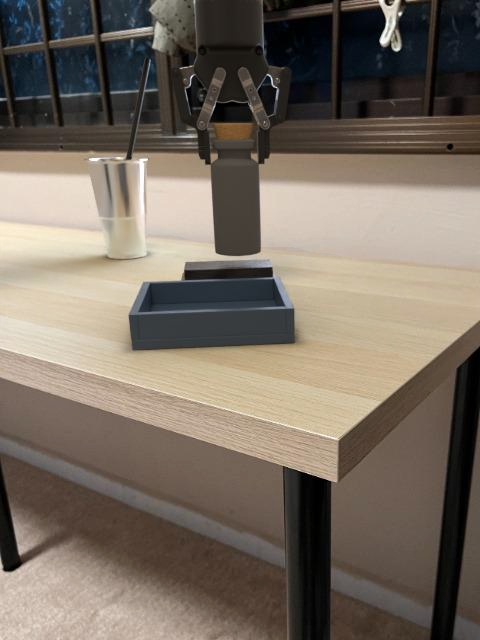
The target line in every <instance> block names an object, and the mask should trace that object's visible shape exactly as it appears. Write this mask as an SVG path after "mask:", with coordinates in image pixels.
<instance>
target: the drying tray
mask: <svg viewBox="0 0 480 640" xmlns="http://www.w3.org/2000/svg"><path fill="white" fill-rule="evenodd" d="M128 324H129V332H130V340H131V341H130V342H131V349H132V350H133V351H143V350H162V349H163V350H164V349H165V350H166V349H183V348H185V349H186V348H188V349H189V348H208V347H228V346H229V347H230V346H233V347H234V346H249V345H251V346H252V345H272V344H273V345H275V344H295V327H296V326H295V306H294V305H293V302H292V300H291V298H290V296H289V294H288V292H287V290H286V287H285V285H284V283H283V281H282V279H281V277H280V276H276V277H271V278H241V279H212V280H182V281H181V280H162V281H161V280H157V281H155V280H154V281H153V280H152V281H143V282H142V284H141V286H140V289H139V291H138V293H137V295H136V298H135V299H134V302H133V304H132V306H131V308H130V311H129V312H128Z"/></svg>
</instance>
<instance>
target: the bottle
mask: <svg viewBox="0 0 480 640" xmlns="http://www.w3.org/2000/svg"><path fill="white" fill-rule="evenodd" d="M212 127H213V131H214V135H215V139H213V140H211V143H212V149H213V150H215V151H216V152H217V158H216V159H214V160H213V161H211V165H210V183H211V184H210V185H211V202H212V204H211V205H212V222H213V240H214V252H215V254H217V255H220V256H226V257H246V256H254V255H257V254H260V253H261V251H262V231H261V230H262V227H261V223H262V221H261V189H260V188H261V187H260V183H261V181H260V164H258V161H257V160H255V159H254V158H252V151H253V150H255V149H256V140H255V139H252V136H253V131H254V130H253V128H254V123H247V122H245V123H243V122H242V123H240V122H237V123H236V122H235V123H234V122H233V123H231V122H230V123H226V122H225V123H213V124H212Z"/></svg>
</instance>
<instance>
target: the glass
mask: <svg viewBox="0 0 480 640" xmlns="http://www.w3.org/2000/svg"><path fill="white" fill-rule="evenodd" d="M150 66H151V58H149V57H145V58H144V62H143V66H142V72H141V76H140V83H139V87H138V93H137V98H136V103H135V107H134V108H135V109H134V115H133V120H132V125H131V129H130V130H131V131H130V135H129V140H128V144H127V145H128V147H127V151H126V156H125V157H95V158H84V159H83V161H84V162H86V164H87V169H88V173H89V177H90V182H91V187H92V191H93V195H94V196H93V197H94V201H95V205H96V209H97V215H98V217H99V221H100V224H101V225H100V226H101V231H102V235H103V240H104V244H105V249H106V252H107V254H106V255H107V257H108V258H110V259H114V260H131V259H139V258H143V257H146V256H147V255H148V252H147V214H148V209H147V207H148V202H147V201H148V198H147V197H148V194H147V193H148V192H147V191H148V187H147V186H148V183H147V182H148V181H147V179H148V177H147V176H148V175H147V174H148V173H147V171H148V169H147V167H148V161H149V160H150V158H149V157H133V154H134V149H135V144H136V138H137V134H138V128H139V123H140V118H141V111H142V108H143V102H144V97H145V92H146V86H147V81H148V76H149V71H150Z"/></svg>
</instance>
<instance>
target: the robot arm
mask: <svg viewBox="0 0 480 640" xmlns="http://www.w3.org/2000/svg"><path fill="white" fill-rule="evenodd" d="M263 1H264V0H193V8H194V9H193V10H194V12H193V13H194V27H195V43H196V57H195V60H194V62H193V65H189V66H188V65H187V66H182V67H178V66H173V67H171V68H170V70H169V72H170V74H169V75H170V78H171V82H172V88H173V91H174V95H175V100H176V104H177V110H178V114H179V118H180V122H181V123H182V124H184V125H186V126H188V127H192V128H194V129H195V130H196V133H197V151H198V157H199V160H201V161H203V160H204V165H205V166H211V164H212V158H211V157H212V156H211V154H212V153H211V139H210V138H211V137H210V131H209V129H208V128H209V127H208V126H209V123H210V120H211V117H212V115H213V112H214V110H215V107H216V104H217V103H219V104H226V103H229V102H234V103H239V104H246V103H248V106H249V109H250V111H251V113H252V115H253V117H254V119H255V121H256V123H257V128H258V130H256V154H257V163H258V164H259V165H265V162H266V161H265V160H269V159H270V155H271V141H270V140H271V139H270V138H271V137H270V136H271V134H270V132H271V130H272V128H274V127H276V126H278V125H281V124H284V123H285V122H286V117H287V109H288V102H289V95H290V89H291V88H290V87H291V83H292V82H291V81H292V69H291V67H288V66H284V67H280V66H279V67H278V66H273V65H269V63H268V61H267V59H266V57H265V50H264V49H265V48H264V45H265V44H264V43H265V42H264V4H263ZM194 76H195V77H196V78H197V79H198V81H199V83H200V84H201V85H202V86H203V88H204V89H205V91H206V92H207V93H206V96H205V99H204V102H203V104H202V108H201V110H200V113H199V116H196V115H193V114H192V113H191V107H190V103H189V99H188V95H187V90H186V89H188V88H190V87H191V84H192V78H193V77H194ZM267 76H268V77H269V78H270V80H271V86H272V87H273V88H276V94H275V102H274V111H273V114H271V115H269V116H268V115H267V113H266V110H265V108H264V104H263V102H262V100H261V97H260V95H259V93H258V90H259V88H260V87H261V86H262V84H263V83H264V81H265V79H266V77H267Z"/></svg>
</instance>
